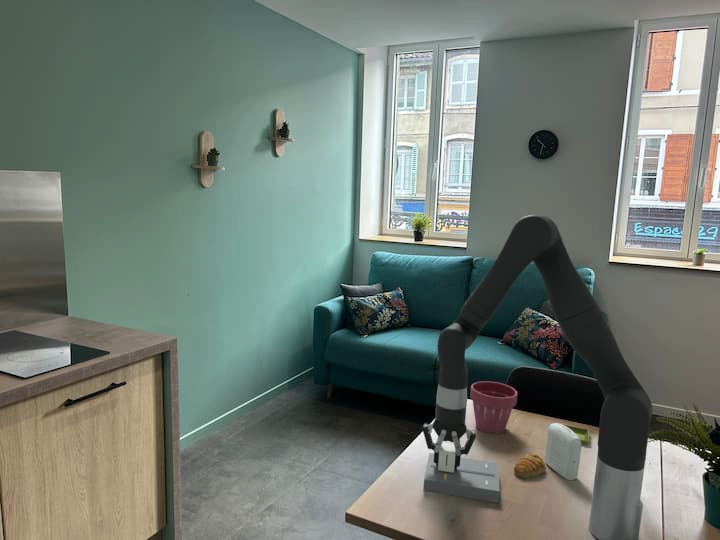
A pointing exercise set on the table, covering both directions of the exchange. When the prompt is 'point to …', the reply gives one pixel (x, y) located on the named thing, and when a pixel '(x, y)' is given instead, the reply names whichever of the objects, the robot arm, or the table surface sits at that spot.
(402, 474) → the table surface
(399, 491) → the table surface
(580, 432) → the saucer
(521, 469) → the pastry
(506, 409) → the plant pot
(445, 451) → the fader tab
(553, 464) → the photo printer
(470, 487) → the console
